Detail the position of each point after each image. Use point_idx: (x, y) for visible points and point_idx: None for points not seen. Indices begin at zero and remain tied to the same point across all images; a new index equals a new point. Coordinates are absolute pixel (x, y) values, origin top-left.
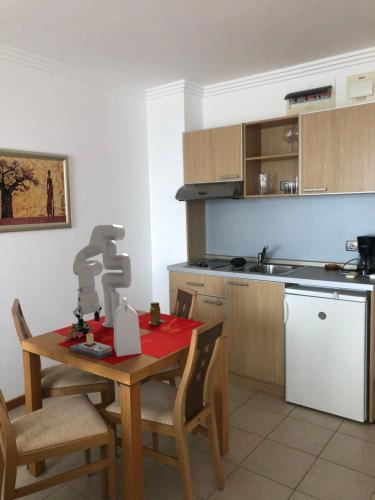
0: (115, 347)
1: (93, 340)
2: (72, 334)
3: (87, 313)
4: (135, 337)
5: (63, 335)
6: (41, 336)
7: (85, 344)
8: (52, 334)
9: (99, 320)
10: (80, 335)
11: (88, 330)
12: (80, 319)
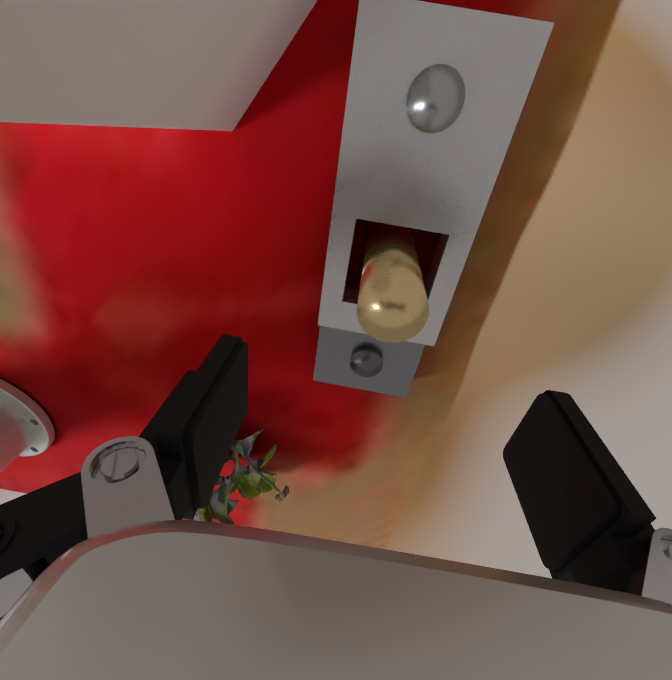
0: (282, 26)
1: (375, 259)
2: (267, 474)
3: (666, 614)
4: None
5: (256, 502)
6: None
7: None
8: None
9: (224, 339)
10: (244, 441)
11: None
12: (647, 529)
